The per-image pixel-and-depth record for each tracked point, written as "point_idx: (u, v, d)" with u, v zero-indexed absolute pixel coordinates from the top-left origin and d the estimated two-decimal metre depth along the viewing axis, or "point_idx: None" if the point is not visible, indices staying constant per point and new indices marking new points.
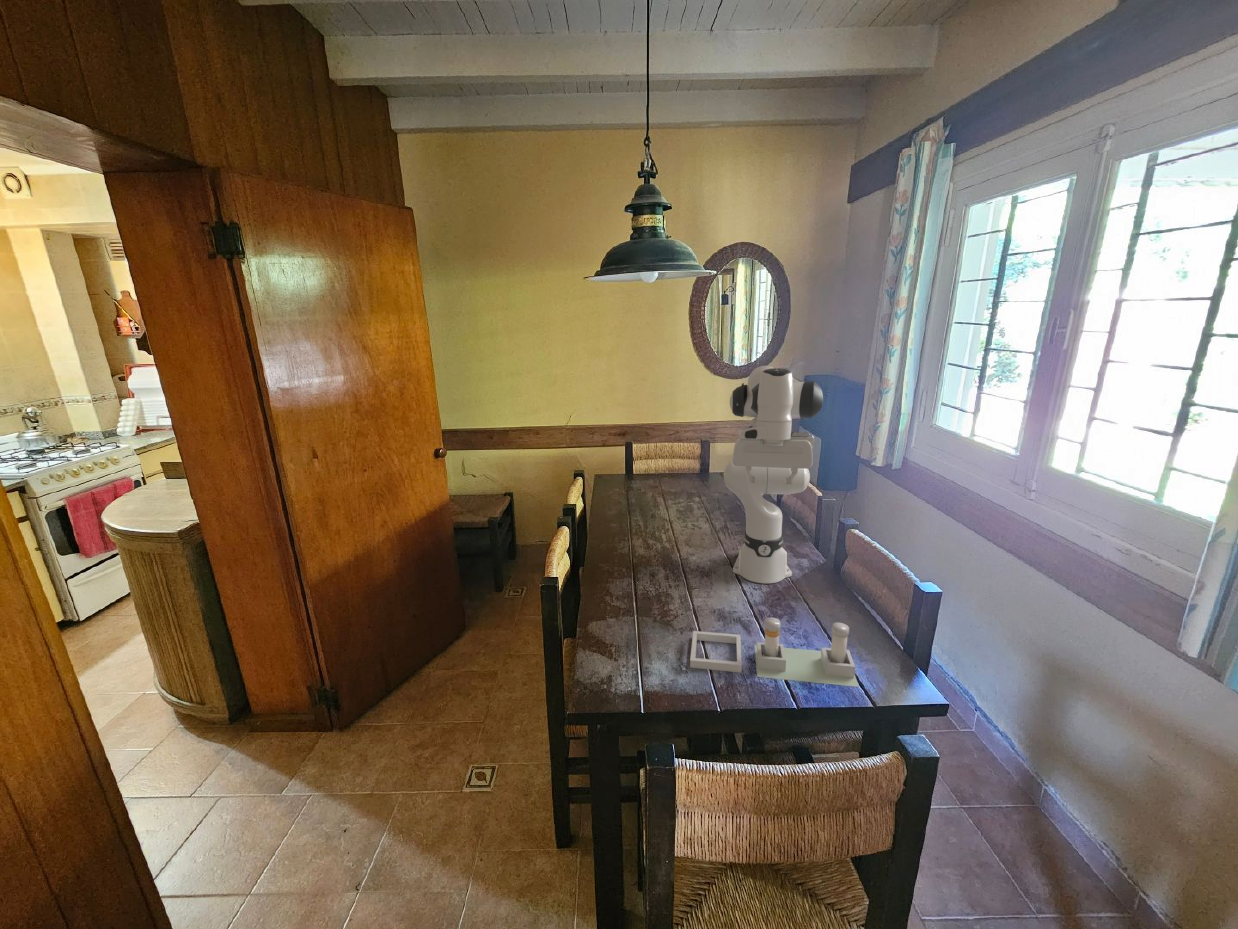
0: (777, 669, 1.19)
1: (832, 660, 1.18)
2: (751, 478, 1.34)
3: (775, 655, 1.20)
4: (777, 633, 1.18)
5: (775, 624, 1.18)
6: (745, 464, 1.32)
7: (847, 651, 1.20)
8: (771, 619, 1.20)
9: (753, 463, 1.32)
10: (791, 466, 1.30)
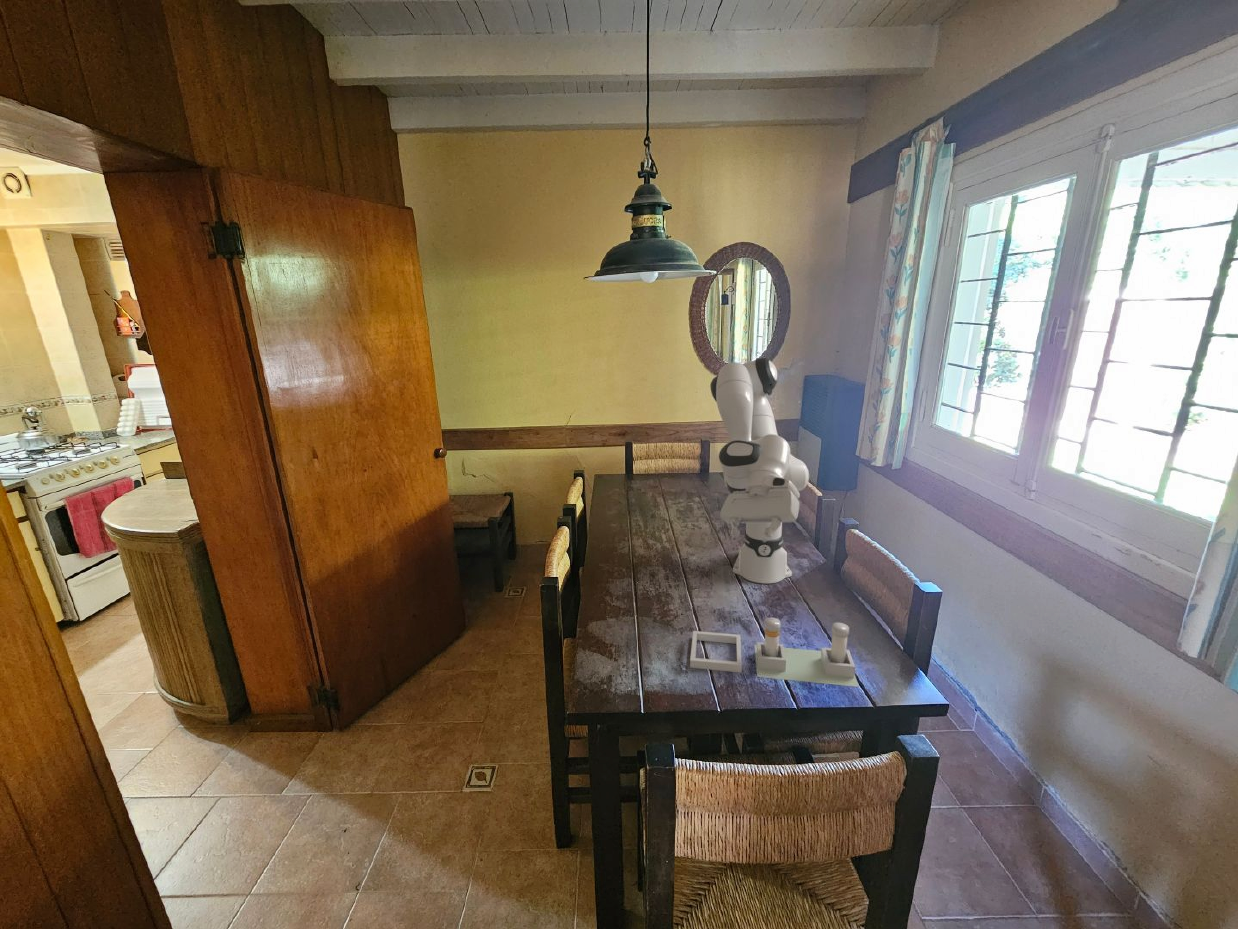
0: (777, 669, 1.19)
1: (832, 660, 1.18)
2: None
3: (775, 655, 1.20)
4: (777, 633, 1.18)
5: (775, 624, 1.18)
6: None
7: (847, 651, 1.20)
8: (771, 619, 1.20)
9: None
10: None
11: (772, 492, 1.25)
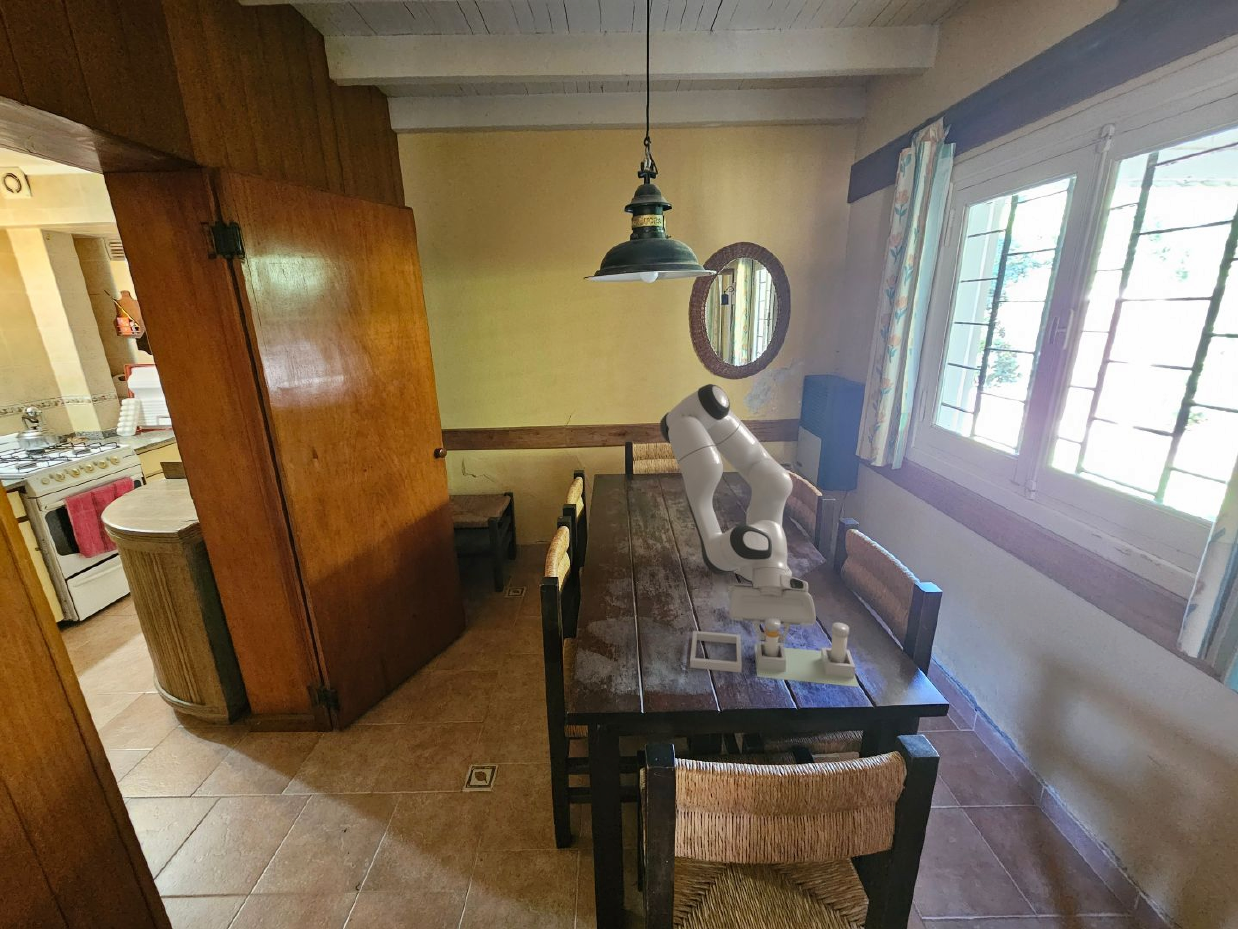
0: (777, 669, 1.19)
1: (832, 660, 1.18)
2: None
3: (775, 655, 1.20)
4: (777, 633, 1.18)
5: (775, 624, 1.18)
6: None
7: (847, 651, 1.20)
8: (771, 619, 1.20)
9: None
10: None
11: (790, 594, 1.22)
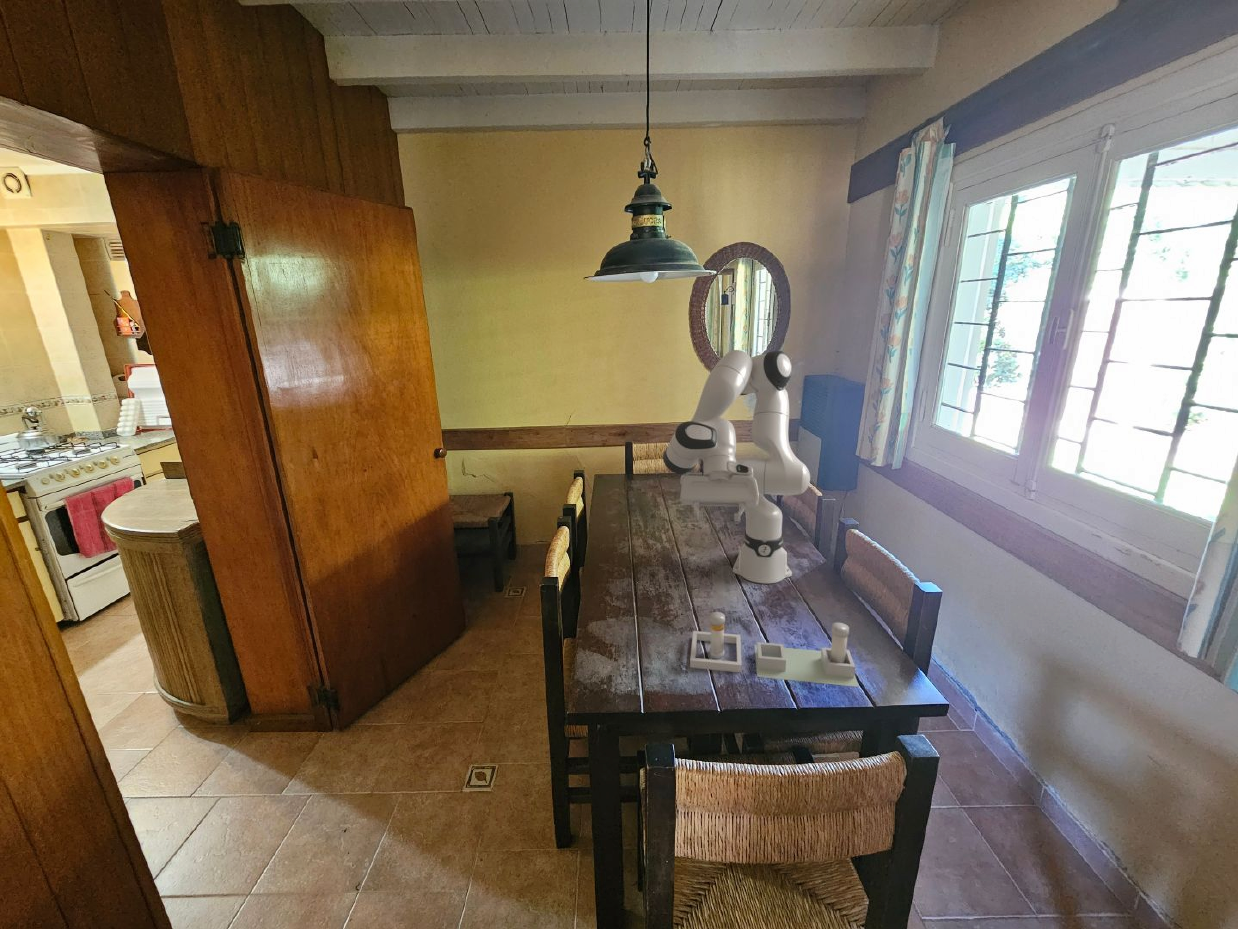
0: (777, 669, 1.19)
1: (832, 660, 1.18)
2: None
3: (720, 648, 1.23)
4: (721, 627, 1.22)
5: (719, 619, 1.21)
6: None
7: (847, 651, 1.20)
8: (716, 614, 1.23)
9: None
10: None
11: (736, 478, 1.32)
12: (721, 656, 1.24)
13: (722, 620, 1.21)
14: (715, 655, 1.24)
